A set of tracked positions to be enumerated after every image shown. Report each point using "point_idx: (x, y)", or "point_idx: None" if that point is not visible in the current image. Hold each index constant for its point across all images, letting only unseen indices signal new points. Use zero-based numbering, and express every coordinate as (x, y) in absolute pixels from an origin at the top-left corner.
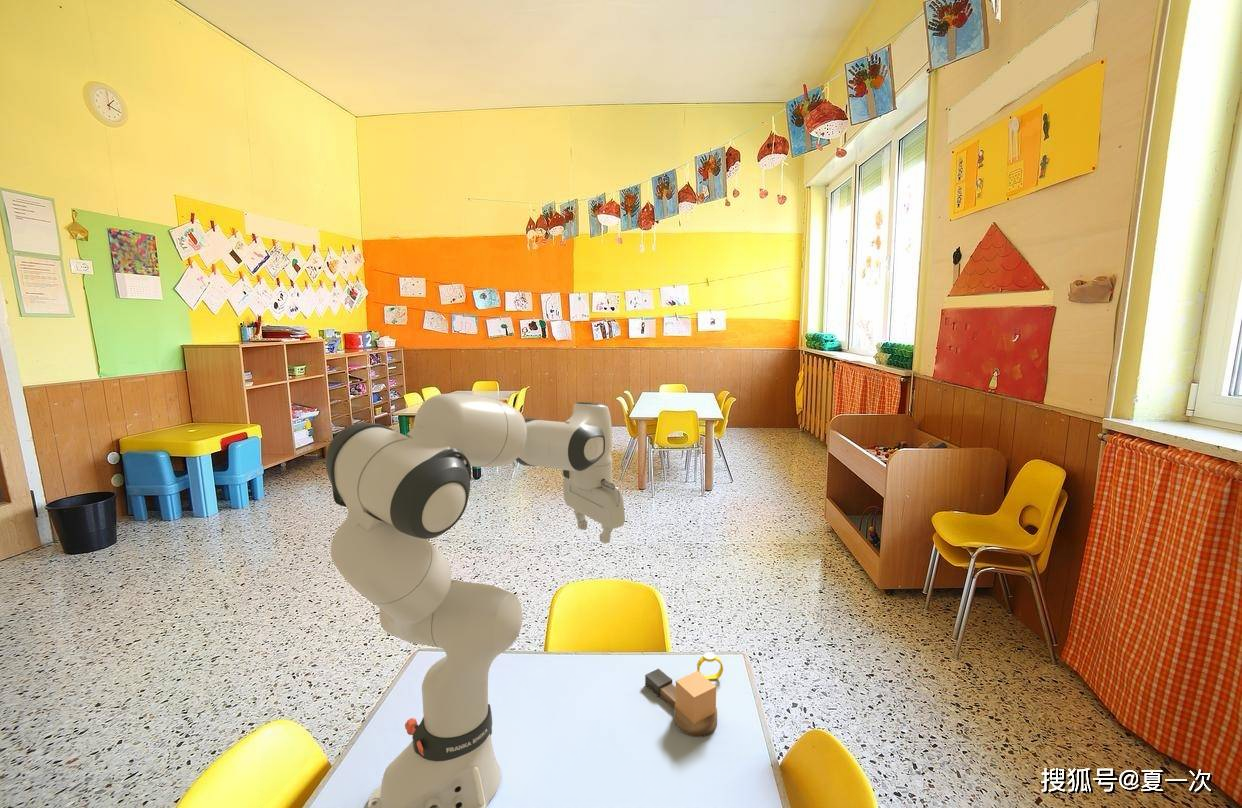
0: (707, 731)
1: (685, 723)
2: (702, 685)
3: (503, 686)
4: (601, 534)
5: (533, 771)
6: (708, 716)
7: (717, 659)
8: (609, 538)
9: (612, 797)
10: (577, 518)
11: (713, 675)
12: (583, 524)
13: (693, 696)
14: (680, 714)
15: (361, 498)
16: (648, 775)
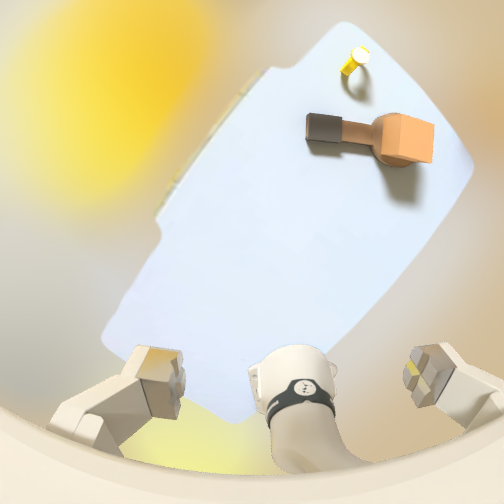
0: None
1: (404, 166)
2: (424, 135)
3: (187, 296)
4: (429, 402)
5: (326, 321)
6: None
7: (367, 52)
8: (452, 353)
9: (397, 278)
10: (133, 431)
11: (350, 59)
12: (174, 392)
13: (430, 162)
14: (393, 160)
15: None
16: (406, 237)
